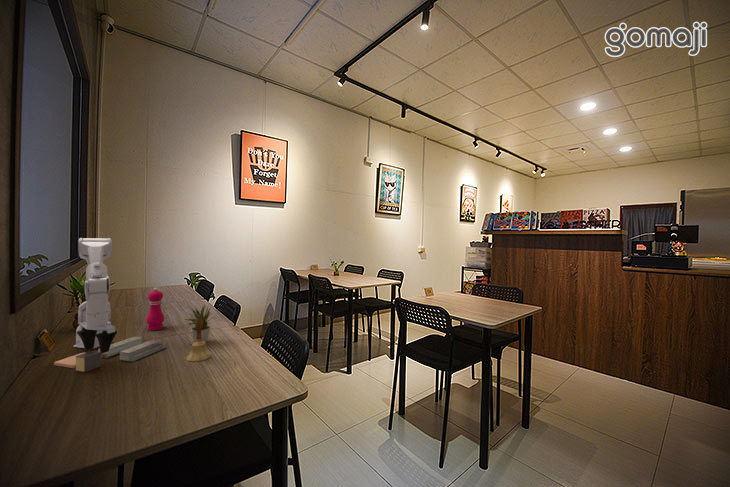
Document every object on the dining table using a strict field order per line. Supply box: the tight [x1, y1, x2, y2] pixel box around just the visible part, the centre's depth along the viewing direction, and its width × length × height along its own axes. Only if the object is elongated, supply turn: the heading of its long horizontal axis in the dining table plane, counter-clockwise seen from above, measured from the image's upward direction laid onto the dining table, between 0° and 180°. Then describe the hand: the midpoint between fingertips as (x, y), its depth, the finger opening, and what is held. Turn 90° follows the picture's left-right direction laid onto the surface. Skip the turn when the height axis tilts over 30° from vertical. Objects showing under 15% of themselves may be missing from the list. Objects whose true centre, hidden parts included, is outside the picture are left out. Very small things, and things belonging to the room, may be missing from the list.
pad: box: [53, 352, 103, 369], centre depth 107 cm, size 9×9×1 cm
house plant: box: [183, 304, 217, 344], centre depth 130 cm, size 14×14×16 cm
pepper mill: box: [145, 287, 165, 332], centre depth 145 cm, size 7×7×20 cm
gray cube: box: [75, 350, 102, 373], centre depth 102 cm, size 4×5×5 cm
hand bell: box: [185, 314, 212, 363], centre depth 114 cm, size 8×8×16 cm
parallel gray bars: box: [97, 336, 167, 363], centre depth 117 cm, size 18×14×3 cm
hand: (97, 350), depth 105 cm, fingers open, 7 cm apart
